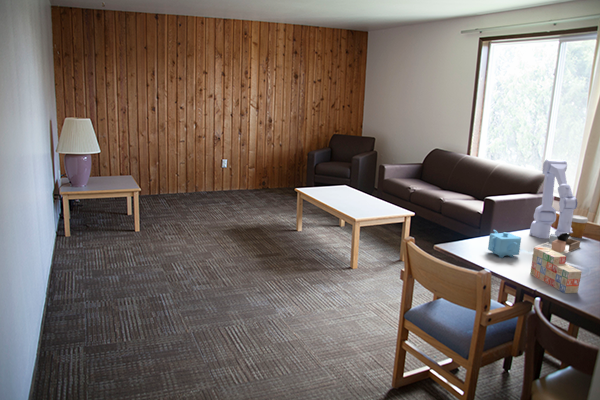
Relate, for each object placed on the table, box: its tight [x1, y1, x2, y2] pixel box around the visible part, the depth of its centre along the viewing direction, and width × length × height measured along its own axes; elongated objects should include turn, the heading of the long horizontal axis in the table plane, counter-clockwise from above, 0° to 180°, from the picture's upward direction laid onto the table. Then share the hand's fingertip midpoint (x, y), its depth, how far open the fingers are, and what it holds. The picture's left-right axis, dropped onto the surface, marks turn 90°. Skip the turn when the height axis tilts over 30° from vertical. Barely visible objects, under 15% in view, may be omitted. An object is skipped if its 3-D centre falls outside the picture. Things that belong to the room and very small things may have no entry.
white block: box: [548, 233, 558, 243], centre depth 250 cm, size 4×4×4 cm
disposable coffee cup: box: [568, 214, 589, 239], centre depth 263 cm, size 10×10×12 cm
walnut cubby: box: [566, 237, 581, 252], centre depth 243 cm, size 7×11×3 cm
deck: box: [534, 241, 581, 255], centre depth 243 cm, size 14×20×1 cm
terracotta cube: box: [550, 240, 566, 253], centre depth 237 cm, size 4×4×4 cm
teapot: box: [487, 229, 522, 259], centre depth 232 cm, size 16×18×11 cm
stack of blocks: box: [530, 246, 583, 294], centre depth 198 cm, size 21×6×12 cm, turn 11°
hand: (560, 247), depth 239 cm, fingers closed
